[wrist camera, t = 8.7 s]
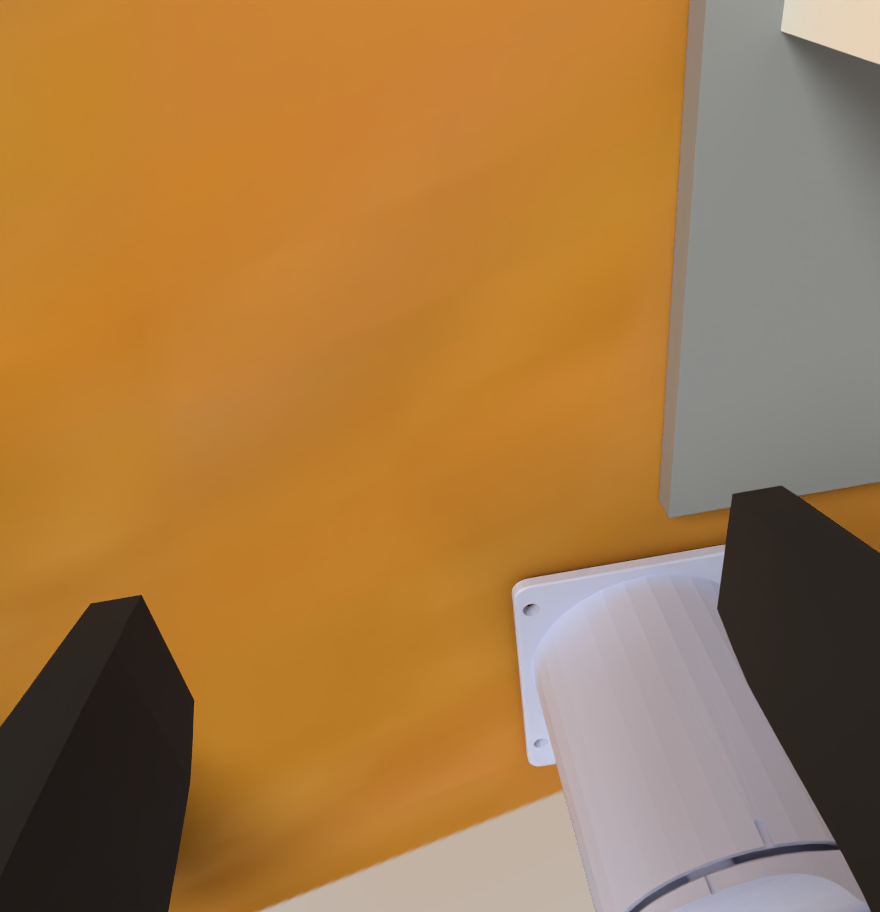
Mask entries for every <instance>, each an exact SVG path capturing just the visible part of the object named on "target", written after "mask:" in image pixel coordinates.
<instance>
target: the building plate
mask: <svg viewBox="0 0 880 912" xmlns="http://www.w3.org/2000/svg"><path fill="white" fill-rule="evenodd" d="M784 1H785V0H690V2H689V19H688V35H687V51H686V67H685V83H684V99H683V116H682V132H681V148H680V164H679V180H678V196H677V213H676V229H675V245H674V261H673V277H672V293H671V310H670V326H669V342H668V358H667V374H666V390H665V407H664V423H663V439H662V455H661V471H660V487H659V501H660V503H661V505H662V507H663V509H664V511H665V513H666V514H667V516H668V518H672V517H678V516H684V515H689V514H695V513H701V512H707V511H713V510H719V509H724V508H730V507H731V500H732V494H734V493H740V492H746V491H752V490H758V489H763V488H769V487H775V486H781V485H782V486H783V487H785V488H786V489H788V490H789V491H791V492H792V493H794V494H795V495H797V496H800V495H806V494H812V493H818V492H823V491H829V490H835V489H841V488H847V487H853V486H858V485H864V484H870V483H876V482H880V64H877V63H874V62H871V61H868V60H865V59H862V58H859V57H856V56H853V55H850V54H847V53H844V52H841V51H838V50H835V49H832V48H830V47H827V46H824V45H821V44H818V43H815V42H812V41H809V40H806V39H803V38H800V37H797V36H794V35H791V34H788V33H785V32H782V31H781V25H782V17H783V9H784Z"/></svg>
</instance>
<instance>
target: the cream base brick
mask: <svg viewBox="0 0 880 912" xmlns="http://www.w3.org/2000/svg"><path fill="white" fill-rule="evenodd" d="M781 31H782V32H785V33H788V34H791V35H794V36H797V37H800V38H803V39H806V40H809V41H812V42H815V43H818V44H821V45H824V46H827V47H830V48H832V49H835V50H838V51H841V52H844V53H847V54H850V55H853V56H856V57H859V58H862V59H865V60H868V61H871V62H874V63H877V64H880V0H785V1H784V9H783V17H782V25H781Z"/></svg>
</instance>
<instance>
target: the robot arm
mask: <svg viewBox="0 0 880 912" xmlns="http://www.w3.org/2000/svg"><path fill="white" fill-rule="evenodd" d="M512 601H513V612H514V622H515V633H516V644H517V655H518V665H519V676H520V687H521V698H522V709H523V719H524V730H525V741H526V752H527V757H528V761H529V763H530V764H532V765H534V766H546V765H551V764H556V765H557V769H558V772H559V776H560V780H561V784H562V788H563V791H564V795H565V799H566V803H567V807H568V810H569V814H570V818H571V821H572V825H573V829H574V832H575V837H576V840H577V844H578V848H579V852H580V855H581V860H582V863H583V867H584V871H585V875H586V878H587V882H588V886H589V890H590V894H591V897H592V901H593V905H594V909H595V912H880V553H879V552H877V551H876V550H874V549H873V548H871V547H870V546H869V545H867V544H866V543H864V542H863V541H861V540H860V539H859V538H857V537H856V536H854V535H853V534H851V533H850V532H848V531H847V530H846V529H844V528H843V527H841V526H840V525H838V524H837V523H836V522H834V521H833V520H831V519H830V518H828V517H827V516H826V515H824V514H823V513H821V512H820V511H818V510H817V509H816V508H814V507H813V506H811V505H810V504H808V503H807V502H806V501H804V500H803V499H801V498H800V497H798V496H797V495H795V494H794V493H792V492H791V491H789V490H788V489H786V488H785V487H783V486H782V485H781V486H775V487H769V488H763V489H758V490H752V491H746V492H740V493H734V494H732V500H731V508H730V515H729V523H728V530H727V538H726V544H724V545H718V546H713V547H707V548H701V549H695V550H690V551H684V552H678V553H672V554H666V555H661V556H655V557H649V558H643V559H637V560H632V561H626V562H620V563H614V564H609V565H603V566H597V567H591V568H585V569H580V570H574V571H568V572H562V573H556V574H551V575H545V576H539V577H533V578H527V579H524V580H521V581H520V582H518V583H517V584H516V585H515V586H514V587H513V589H512ZM529 604H534V605H531V606H527V605H529ZM193 714H194V699H193V697H192V695H191V693H190V691H189V689H188V687H187V685H186V683H185V681H184V679H183V677H182V675H181V673H180V671H179V669H178V667H177V665H176V663H175V661H174V659H173V657H172V655H171V653H170V651H169V649H168V647H167V645H166V643H165V641H164V639H163V637H162V635H161V633H160V631H159V629H158V627H157V625H156V623H155V621H154V619H153V617H152V615H151V613H150V611H149V609H148V607H147V605H146V603H145V601H144V599H143V597H142V595H139V596H133V597H127V598H121V599H115V600H109V601H104V602H98V603H92V604H90V605H89V607H88V608H87V609H86V611H85V612H84V613H83V615H82V616H81V617H80V619H79V620H78V621H77V623H76V624H75V625H74V627H73V628H72V629H71V631H70V632H69V634H68V635H67V636H66V638H65V639H64V640H63V642H62V643H61V644H60V646H59V647H58V649H57V650H56V651H55V653H54V654H53V655H52V657H51V658H50V660H49V661H48V662H47V664H46V665H45V667H44V668H43V669H42V671H41V672H40V673H39V675H38V676H37V678H36V679H35V680H34V682H33V683H32V684H31V686H30V687H29V689H28V690H27V691H26V693H25V694H24V695H23V697H22V698H21V700H20V701H19V702H18V704H17V705H16V706H15V708H14V709H13V711H12V712H11V713H10V715H9V716H8V717H7V719H6V720H5V721H4V723H3V724H2V725H1V727H0V912H168V909H169V903H170V898H171V892H172V886H173V881H174V875H175V869H176V864H177V858H178V852H179V846H180V840H181V834H182V828H183V823H184V817H185V811H186V805H187V798H188V792H189V786H190V776H191V760H192V742H193Z"/></svg>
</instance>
